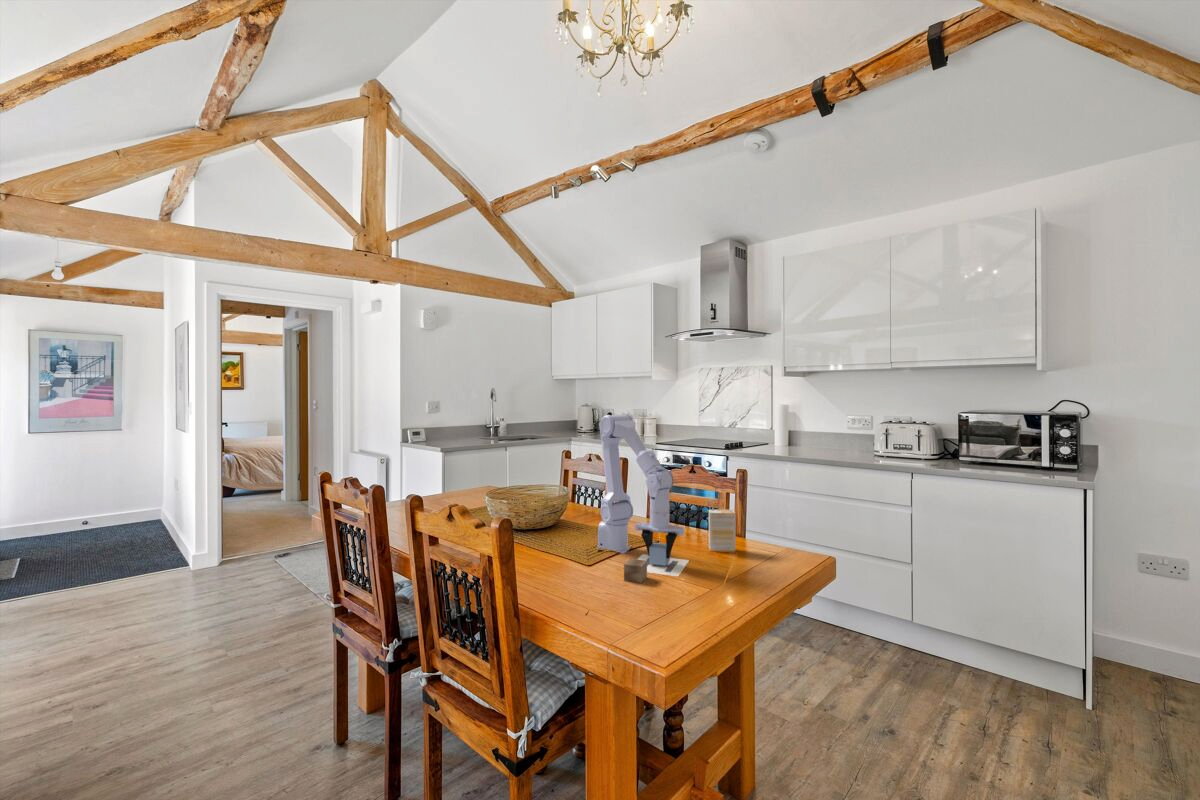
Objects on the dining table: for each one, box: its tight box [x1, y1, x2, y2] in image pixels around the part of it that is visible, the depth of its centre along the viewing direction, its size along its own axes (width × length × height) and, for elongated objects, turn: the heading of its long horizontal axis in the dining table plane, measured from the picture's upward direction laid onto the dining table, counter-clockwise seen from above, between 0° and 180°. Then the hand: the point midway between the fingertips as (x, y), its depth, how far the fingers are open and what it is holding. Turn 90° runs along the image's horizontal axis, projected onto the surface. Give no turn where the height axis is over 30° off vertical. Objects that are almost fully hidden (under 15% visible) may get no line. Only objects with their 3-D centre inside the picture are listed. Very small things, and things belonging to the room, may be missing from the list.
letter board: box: [637, 553, 690, 577], centre depth 163 cm, size 15×15×1 cm
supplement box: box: [708, 509, 737, 554], centre depth 177 cm, size 8×5×13 cm, turn 84°
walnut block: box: [623, 558, 648, 584], centre depth 151 cm, size 5×5×5 cm
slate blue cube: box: [649, 542, 671, 566], centre depth 163 cm, size 5×5×5 cm
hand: (659, 556), depth 162 cm, fingers closed on slate blue cube, 5 cm apart
